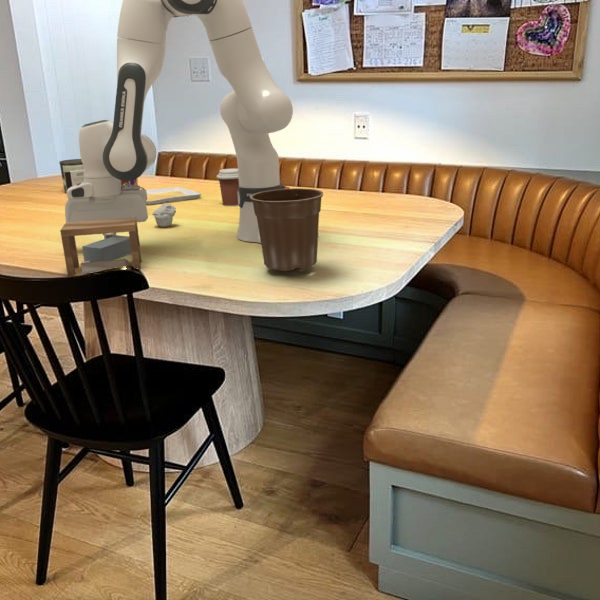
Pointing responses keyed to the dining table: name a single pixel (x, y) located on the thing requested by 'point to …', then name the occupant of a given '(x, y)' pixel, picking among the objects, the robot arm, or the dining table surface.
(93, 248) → the slab
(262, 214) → the plant pot
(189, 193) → the salad plate
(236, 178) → the coffee cup
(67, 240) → the bench
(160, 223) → the grey lumpy rounded piece
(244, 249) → the dining table surface
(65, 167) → the coffee can
